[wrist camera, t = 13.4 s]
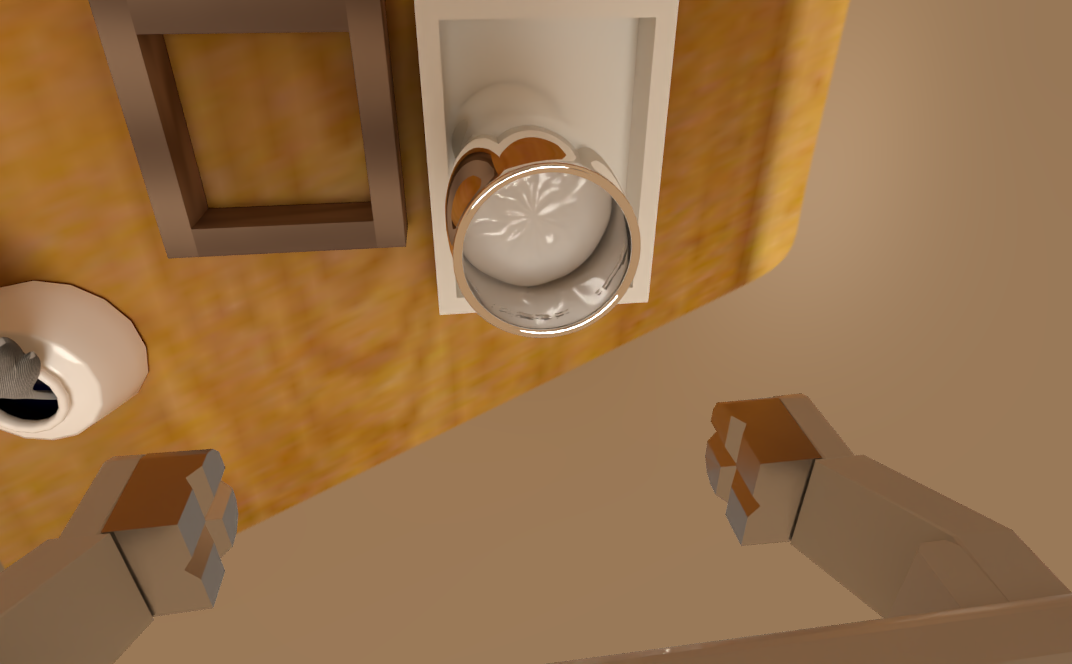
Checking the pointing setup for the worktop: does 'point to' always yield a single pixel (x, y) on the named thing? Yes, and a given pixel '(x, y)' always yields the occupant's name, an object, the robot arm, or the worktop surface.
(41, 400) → the inkwell
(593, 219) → the beer glass
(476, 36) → the cream white tray
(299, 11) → the walnut collar
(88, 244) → the worktop surface
